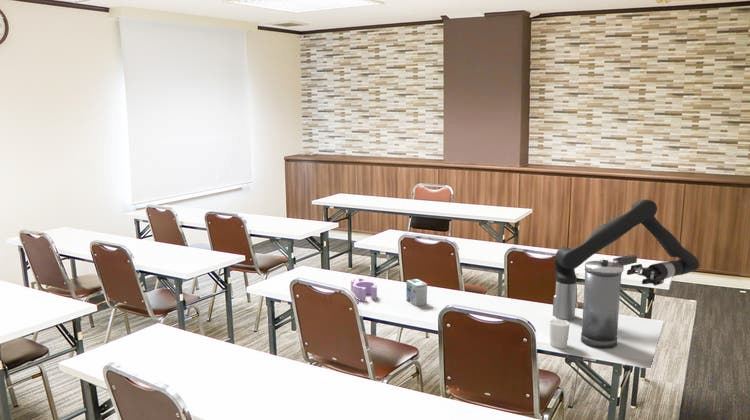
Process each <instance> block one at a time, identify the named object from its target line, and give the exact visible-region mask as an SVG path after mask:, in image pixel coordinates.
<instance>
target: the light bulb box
mask: <svg viewBox="0 0 750 420" xmlns="http://www.w3.org/2000/svg"><path fill="white" fill-rule="evenodd" d="M405 294H406V297H405V298H406V301H407V300H408V302H409V303H410V302H411V303H410V304H412V305H414V306H415V305H418V306H423V304H425V305H427V304H428V300H427V299H428V296H427V295H428V283H426V282H424V281H422V280H420V279H418V278H415V279H414V278H413V279H407V280H406V293H405Z"/></svg>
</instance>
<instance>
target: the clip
mask: <svg viewBox="0 0 750 420" xmlns="http://www.w3.org/2000/svg"><path fill="white" fill-rule="evenodd" d="M377 285H378V284H377V283H376V282H374V281H369V280H367V279H366V278H364V277H358V281H356V279H355V278H352V279H350V292H351V291H352V292H353V293H354V294H355V296H356V297H357V298H358V300H357V301H365V300H367V298H366V297H367V295H370V294H371V295H370V299H371V300H372V299H375V300H374V301H377V300H378V287H377ZM359 299H360V300H359ZM376 299H377V300H376ZM365 302H366V301H365Z"/></svg>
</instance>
